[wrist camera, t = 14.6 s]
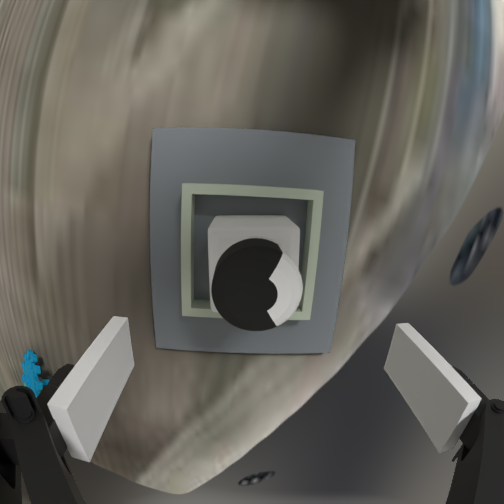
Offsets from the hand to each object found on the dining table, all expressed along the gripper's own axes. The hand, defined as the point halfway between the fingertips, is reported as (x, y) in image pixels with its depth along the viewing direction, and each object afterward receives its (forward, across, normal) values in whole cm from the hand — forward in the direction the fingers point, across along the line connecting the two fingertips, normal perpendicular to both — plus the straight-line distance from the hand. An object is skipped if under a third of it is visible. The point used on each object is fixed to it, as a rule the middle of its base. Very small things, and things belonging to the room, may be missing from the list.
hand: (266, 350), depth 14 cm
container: (+21, 0, 0) cm, 21 cm away
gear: (+22, -33, -22) cm, 46 cm away
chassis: (+22, 0, 0) cm, 22 cm away
